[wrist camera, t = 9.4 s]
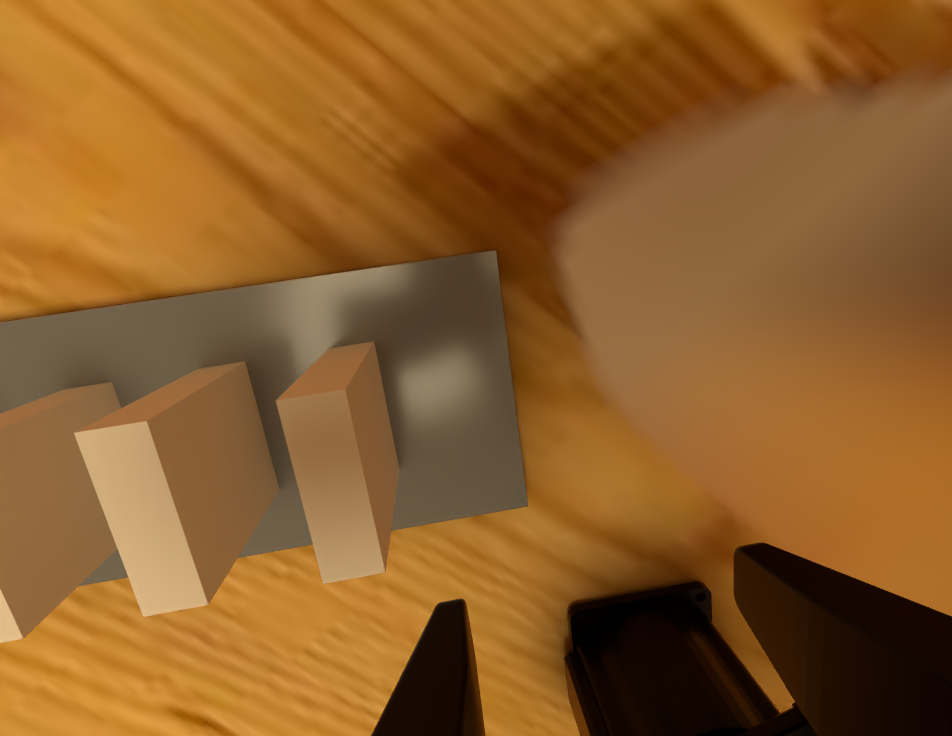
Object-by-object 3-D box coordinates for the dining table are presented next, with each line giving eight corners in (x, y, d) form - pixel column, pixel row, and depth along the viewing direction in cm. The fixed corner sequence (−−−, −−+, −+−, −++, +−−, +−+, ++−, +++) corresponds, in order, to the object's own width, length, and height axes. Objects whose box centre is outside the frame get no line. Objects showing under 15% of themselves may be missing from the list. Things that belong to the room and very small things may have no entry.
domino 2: (245, 361, 17) (146, 421, 11) (279, 489, 18) (208, 605, 12) (198, 368, 17) (73, 432, 11) (236, 497, 18) (143, 616, 12)
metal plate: (492, 249, 18) (495, 250, 17) (523, 493, 20) (528, 506, 19) (-435, 385, 16) (-490, 394, 15) (-273, 633, 18) (-312, 655, 17)
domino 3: (374, 341, 17) (345, 389, 11) (399, 469, 18) (385, 572, 12) (328, 348, 17) (275, 400, 11) (357, 476, 18) (323, 584, 12)
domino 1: (112, 381, 16) (-62, 454, 11) (156, 510, 18) (23, 638, 12) (63, 389, 16) (-139, 466, 11) (112, 518, 18) (-45, 651, 12)
